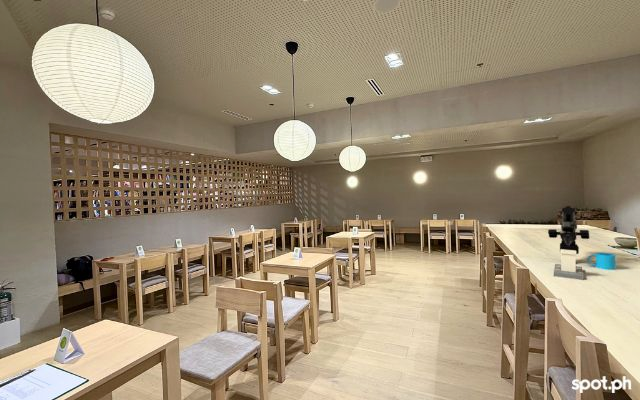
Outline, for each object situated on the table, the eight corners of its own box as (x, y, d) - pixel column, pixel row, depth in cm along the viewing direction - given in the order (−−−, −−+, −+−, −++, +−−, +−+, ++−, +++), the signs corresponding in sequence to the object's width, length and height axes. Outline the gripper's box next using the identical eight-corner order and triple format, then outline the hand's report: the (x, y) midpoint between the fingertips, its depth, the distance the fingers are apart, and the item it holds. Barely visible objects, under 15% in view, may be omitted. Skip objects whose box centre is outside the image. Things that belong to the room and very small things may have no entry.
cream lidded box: (560, 269, 164) (560, 249, 164) (576, 270, 160) (576, 250, 160) (560, 270, 161) (560, 250, 161) (576, 272, 157) (576, 251, 157)
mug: (615, 267, 171) (615, 253, 171) (615, 270, 165) (615, 256, 165) (587, 264, 180) (587, 251, 179) (586, 267, 174) (586, 253, 174)
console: (555, 267, 176) (555, 263, 176) (582, 270, 168) (582, 266, 168) (553, 275, 159) (553, 272, 159) (583, 279, 151) (583, 275, 151)
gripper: (547, 216, 182) (546, 237, 174) (587, 216, 169) (588, 238, 161) (549, 227, 188) (548, 247, 180) (589, 227, 175) (589, 249, 167)
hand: (568, 245), depth 172 cm, fingers closed
